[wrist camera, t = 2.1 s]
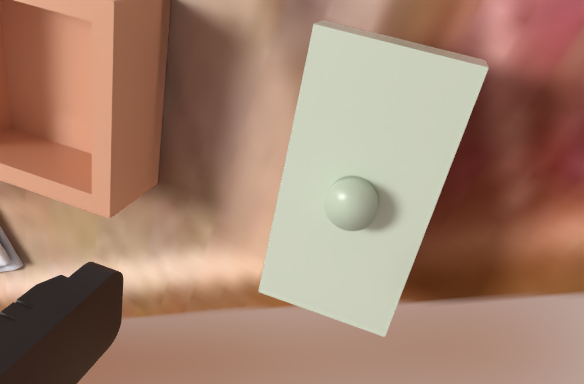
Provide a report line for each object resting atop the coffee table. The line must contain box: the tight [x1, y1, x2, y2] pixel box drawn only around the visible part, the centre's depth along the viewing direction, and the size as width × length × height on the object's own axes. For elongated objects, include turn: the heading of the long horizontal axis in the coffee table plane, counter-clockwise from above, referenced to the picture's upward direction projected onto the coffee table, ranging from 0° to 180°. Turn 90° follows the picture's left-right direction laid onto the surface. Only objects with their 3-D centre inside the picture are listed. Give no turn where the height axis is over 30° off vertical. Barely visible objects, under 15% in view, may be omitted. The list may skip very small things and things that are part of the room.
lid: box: [258, 20, 489, 337], centre depth 19 cm, size 6×12×2 cm, turn 168°
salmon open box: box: [0, 0, 171, 218], centre depth 23 cm, size 10×10×4 cm
